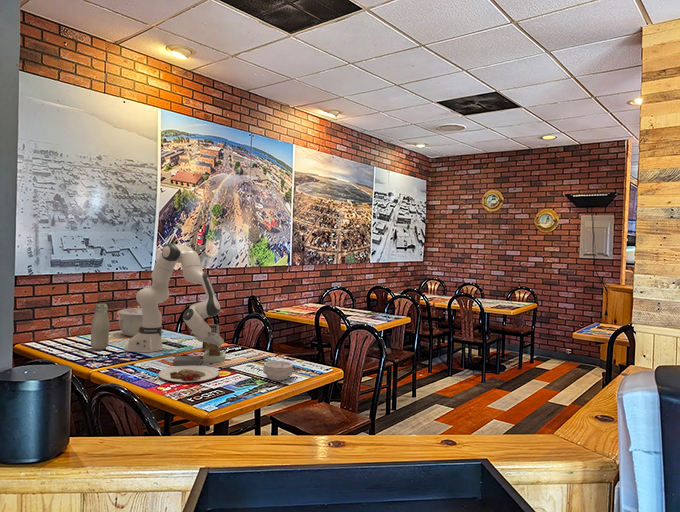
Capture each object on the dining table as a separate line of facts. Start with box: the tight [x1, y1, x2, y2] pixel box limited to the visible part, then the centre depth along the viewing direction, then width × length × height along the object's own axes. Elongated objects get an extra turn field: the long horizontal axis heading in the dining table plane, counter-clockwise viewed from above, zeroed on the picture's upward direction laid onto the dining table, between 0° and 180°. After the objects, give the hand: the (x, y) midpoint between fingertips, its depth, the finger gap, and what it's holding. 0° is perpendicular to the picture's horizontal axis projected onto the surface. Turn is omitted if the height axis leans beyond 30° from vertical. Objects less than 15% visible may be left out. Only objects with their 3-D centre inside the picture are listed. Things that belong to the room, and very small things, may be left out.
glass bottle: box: [90, 303, 111, 351], centre depth 297 cm, size 10×10×28 cm
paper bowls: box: [263, 360, 294, 382], centre depth 257 cm, size 15×15×8 cm
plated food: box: [157, 365, 220, 384], centre depth 253 cm, size 30×30×3 cm
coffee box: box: [201, 323, 221, 352], centre depth 311 cm, size 9×6×16 cm
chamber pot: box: [116, 305, 143, 338], centre depth 344 cm, size 28×28×21 cm
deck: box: [172, 355, 202, 367], centre depth 276 cm, size 14×10×3 cm
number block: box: [208, 343, 221, 356], centre depth 289 cm, size 4×5×10 cm
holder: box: [202, 351, 226, 363], centre depth 289 cm, size 12×12×3 cm
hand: (215, 345), depth 289 cm, fingers closed on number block, 5 cm apart
